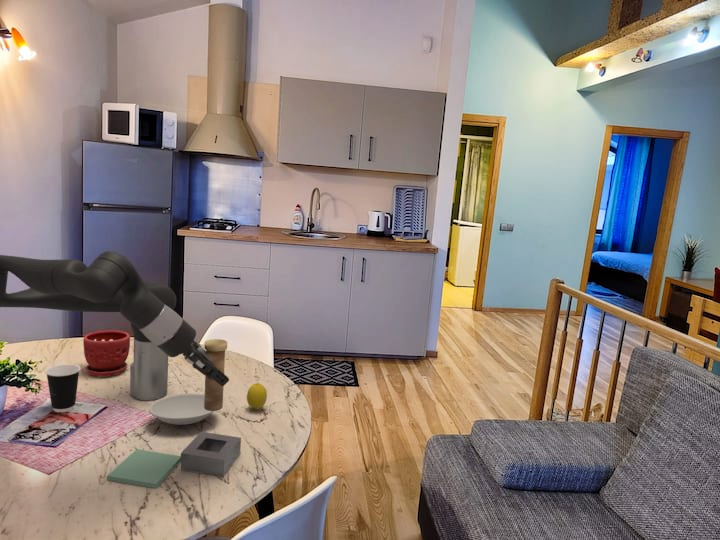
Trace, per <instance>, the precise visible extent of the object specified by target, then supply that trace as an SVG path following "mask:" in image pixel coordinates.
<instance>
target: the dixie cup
mask: <svg viewBox="0 0 720 540" xmlns="http://www.w3.org/2000/svg"><path fill="white" fill-rule="evenodd" d="M80 370H81V366H79V365H78V364H72V363H62V364H55V365H52V366H50V367H48V368H47V369H45V374H46V379H47V384H48V391H49V398H50V404H51V408H52V411H53V410H54V411H55V413H59V412H62V413H67V412H70V411H72V410H74V408H75V405H76V399H77V392H78V391H77V390H78V383H79V375H80ZM54 411H53V412H54Z"/></svg>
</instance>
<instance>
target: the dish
mask: <svg viewBox="0 0 720 540" xmlns="http://www.w3.org/2000/svg"><path fill="white" fill-rule="evenodd" d="M204 398H205V393H195V392H194V393H178V394H173V395H168V396H167V395H166V396H164V397H162V398H159V399H155V401H153V402H152V403H151V404H149V406H148V413H150V414H151V415H152V416H154V417H156V418H158V419H159V420H160V421H162V422H163V423H167V424H170V425H177V426H179V425H180V426H181V425H191V424H194V423H198V422H200V421H203V420H204V419H206V418H208V417H209V416H210V415H211V414H212V413H214V412H215V411H208V410H206V409H204Z"/></svg>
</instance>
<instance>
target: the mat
mask: <svg viewBox="0 0 720 540" xmlns="http://www.w3.org/2000/svg"><path fill="white" fill-rule="evenodd" d="M179 464H181V455H176V454H170V453H163V452H157V451H150V450H143V449H138V448H136V449H135V450H134V451H133V452H131V454H129V455H128V456H127V457H126V458H125V459H124V460H123V461H122V462H121V463H119V464H118V465H117V466H116V467H115V468H113V470H112V471H110V472H109V473H108V474H107V475H106V480H107V481H111V482H116V483H117V482H118V483H121V484H128V485H132V486H133V485H135V486H138V487H139V486H140V487H146V488H153V489H158V487H159V486H160V485H161V484H162V483H163V482H164V481H165V479H167V477H168V476H169V475H170V474H171V473H172V472H173V471H174V469H176V467H177V466H178V465H179Z"/></svg>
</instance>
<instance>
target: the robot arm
mask: <svg viewBox="0 0 720 540" xmlns="http://www.w3.org/2000/svg"><path fill="white" fill-rule="evenodd" d="M9 273H10V274H13V276H15V277H16V278H17V279H19V280H20V281H21V282H22V283H24V284H25V285H26V286H27V287H29V288H25V289H24V290H20V291H16V292H11V293H7V286H8V277H9ZM177 302H178V301H177V296H176V294H175V292H174V290H172V288H170V287H169V286H167V285H165V284H162V283H160V282H159V283H158V282H156V281H153V280H143V278H142V276H141V275H140V274H139V272H138V270H137V269H136V267H135V265H134V264H133V262H131V261H130V259H129V258H127V257H126V256H125V255H124V254H121V253H119V252H116V251H113V250H108V251H107V250H106V251H103V252H102V253H100V254H98V256H97V257H96V258H95V259H94V260H93V262H91V263H90V265H89V266H87V265H86V263H84V262H83V261H81V260H79V259H64V258H63V259H39V258H38V259H37V258H31V257H24V256H23V257H22V256H17V255H16V256H14V255H7V254H6V255H5V254H4V255H3V254H0V308H24V309H25V308H26V309H27V308H29V309H30V308H33V309H48V310H59V311H67V312H68V311H69V312H81V313H84V312H86V313H120V315H122V317H123V318H125V320H127V321H128V322H129V323H130V327H131V329H132V332H133V362H131V364H130V367H129V368H130V370H129V373H130V374H129V376H130V377H129V378H130V379H129V383H130V384H129V395H130V396H131V397H133V398H135V399H137V400H140V401H154V400H155V401H156V400H158V399H161V398H164V397H166V396H167V395H168V387H169V386H168V385H169V384H168V383H169V382H168V381H169V379H168V378H169V357H170V358H175V357H179V355H181V354H182V356H183V357H184V361H186V362H187V363H188V364H190V365H191V366H192V368H193V369H195V370H197V371H198V372H199V373H201V374H202V375H203V376H204V377H205V376H206V377H207V378H209V379H211V378H213V379H214V380H215V381H216V382H217V383H218V384H220V385H221V386H223V387H225V386H226V384H228V383H229V381H230V379H229V376H227V374H225V372H224V373H222V372H221V371H220V370H219V369H218V367H217V366H215V365H214V364H213V363H212V359H211V358H210V357H209V356H208V355H207V354H206V349H205V348H203V347H202V346H201V344H200V343H199V342H198V341H195V338H196V337H197V330H196V329H195V328H194V327H192V325H190V324H189V322H188V321H186V320H185V319H184V318H182V317H181V316H180V315H179V314H178V313H177V312H176V311H175V310H174V309H175V307H176V305H177ZM206 358H207V360H206ZM210 368H212V369H211V370H210V371H209V372H208V370H209V369H210Z"/></svg>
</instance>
